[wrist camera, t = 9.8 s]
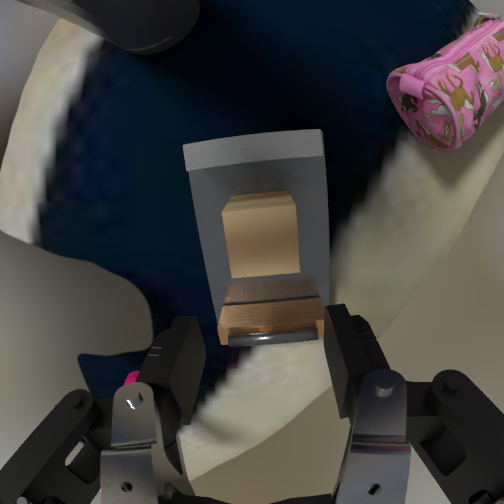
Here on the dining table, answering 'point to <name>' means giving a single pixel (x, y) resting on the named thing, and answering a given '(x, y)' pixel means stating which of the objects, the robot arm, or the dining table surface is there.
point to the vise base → (260, 181)
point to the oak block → (261, 234)
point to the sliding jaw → (271, 322)
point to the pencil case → (453, 86)
